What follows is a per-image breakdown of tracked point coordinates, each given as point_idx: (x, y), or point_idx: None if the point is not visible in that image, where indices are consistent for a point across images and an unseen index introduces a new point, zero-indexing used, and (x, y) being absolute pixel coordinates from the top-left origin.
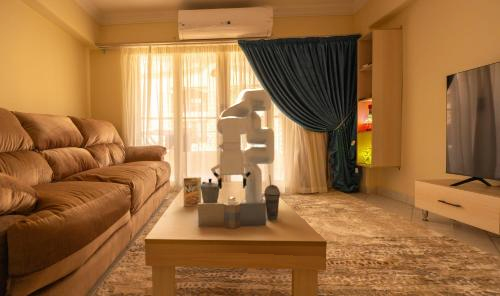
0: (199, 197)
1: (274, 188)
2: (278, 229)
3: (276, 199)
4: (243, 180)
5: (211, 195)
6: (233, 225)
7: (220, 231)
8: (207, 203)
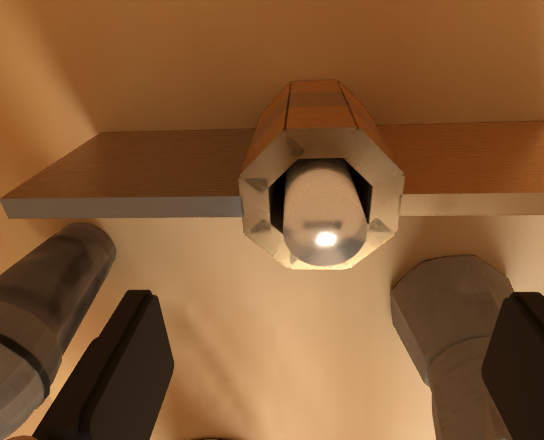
0: None
1: None
2: (7, 63)
3: None
4: (85, 396)
5: None
6: (303, 85)
7: (396, 22)
8: None
